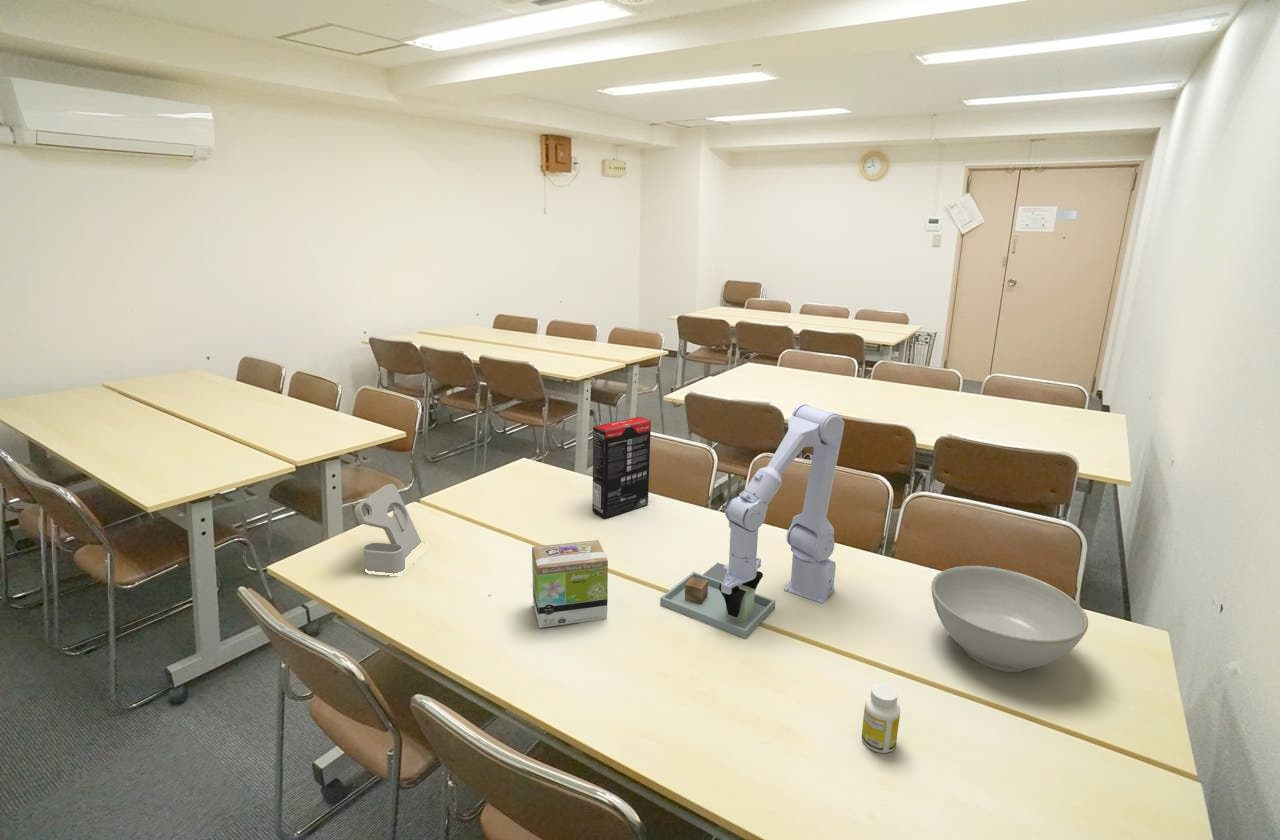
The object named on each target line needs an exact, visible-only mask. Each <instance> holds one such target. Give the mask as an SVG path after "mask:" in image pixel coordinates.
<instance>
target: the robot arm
mask: <svg viewBox="0 0 1280 840" xmlns="http://www.w3.org/2000/svg"><path fill="white" fill-rule="evenodd" d="M787 420H788V421H787V427H788V430H787V432H786V434H785V435H784V437H783V439H782V440H781V442H780V444H779V446H778V447H777V449H776V451H775V452H774V454H773V456H772V457H771V459H770V461H769V462H768V464H767V466H765V467H760V468H758V470H757V471H756V473H754V475H753V476H752V477H751V479H750V481H749V482H748V483H747V485H746V487H745V488H744V490H743V491H742V492H741V494H740V495H739V496H735V497H734V498H732V499H731V500H730V501H729V503H728V504H727V507H726V509H725V510H724V515H725V518H726V519H727V521H728V528H730V534H729V535H730V536H729V552H728V553H729V554H728V563H727V564H724V565H725V566H724V570H725V571H727V573H726V576H725V580H724V581H723V582H722V583H721V584H720V585H719V590H720V592H721V593H722V595H723V597H724V599H725V603H726V607H727V611H728V615H731V616H734V617H737V616H738V615H739V611H740V606H741V602H742V599H743V597H744V595H745V593H746V591H744V590H741V589H739V587H738V585H740V584H742V585H744V586H747V587H750V588H753V589H755V591H756V590H757V587H758V585H759V584H760V581H761V580H762V579H763V577H764V574H763V572H761V571H759V568H761V566H762V559H761V558H759V557H757V556H758V554H757V552H758V540H759V537H758V535H759V528H761V526H762V525H763V524H764V523H765V521H766V517H767V512H768V510H769V504H770V502H771V501H772V500H773V498H774V496H775V495H776V493H777V492H778V490H779V489H780V488H781V486H782V484H783V482H782V480H783V479H782V475H783V474H784V472H786V470H787V469H788V468H789V466H790V465H792V463H793V461H794V460H795V459H796V458H797V457H798V455H799V454H800V453H801V452H802V451H803V449H804V448H811V447H813V451H812V452H813V453H812V458H811V463H810V469H809V473H808V478H807V485H806V490H805V496H804V501H803V507H802V512H801V513H799V514H796V515H794V516H793V517H792V521H791V525H790V526H789V528H788V530H787V531H786V532H787V534H786V542H787V544H788V545H789V546H790V551H791V552H792V561H791V563H792V564H791V574H790V582H788V583H787V584H786V585H785V586H784V587H783V591H784V592H788V593H791V594H793V595H796V596H799V597H802V598H805V599H808V600H810V601H811V600H812V601H813V602H817V603H820V604H823V603H824V602H826V600H827V598H829V596H830V595H831V594H832V593H833V591H834V590H835V576H836V569H837V568H836V567H837V566H836V565H837V564H836V562H835V561H834V560H832V559H830V557H831V556H832V554H834V553H833V552H834V550H835V538H834V536H835V528H834V526H833V525H832V524H831V522H830V521H829V518H827V517H828V511H829V507H830V506H829V505H830V500H831V499H830V498H831V495H832V494H831V493H832V491H833V484H834V480H835V473H836V470H837V469H836V468H837V466H838V465H837V463H838V459H839V453H840V449H841V446H842V445H841V444H842V440H843V439H842V438H843V434H844V429H845V424H846V422H845V421H844V420H843V418H842V417H841V416H840V415H839V414H838V413H835V412H830V411H826V410H824V409H821V408H818V407H817V408H816V407H813V406H810V405H808V404H806V403H803V404H799V405H798V406H796V407H795V408H794V410H793V412H792V414H791V416H790V417H789V418H788V419H787Z"/></svg>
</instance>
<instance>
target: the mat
mask: <svg viewBox="0 0 1280 840" xmlns="http://www.w3.org/2000/svg"><path fill="white" fill-rule="evenodd" d="M725 565H726V564H723V563H719V562H717V563H715V564H714V565H712V566H711V568H709V569H708V570H707V571H705V572H704V573H703V574H702V575H704V576H707V577H710V578H713V579H716V580H718V581H721V582H723V581H724V580H725V576H726V573H727V571H725V570H724V566H725Z"/></svg>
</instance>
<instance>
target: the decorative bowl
mask: <svg viewBox="0 0 1280 840" xmlns="http://www.w3.org/2000/svg"><path fill="white" fill-rule="evenodd" d="M930 588H931V590H930V591H931V596H932V601H933V605H934V608H935V610H936V611H935V612H936V613H937V616H938V618H939V620H940V622H941V624H942V625H943V627H944V628H945V630H946V632H947V633H948V634H949V636H951V638H952V639H953V640H954V641H955V642H956V643H957V644H958V645H959V646H960V647H962V648H963V650H964V652H965V653H966V654H967V655H968V656H969V657H970V658H971V659H973V660H974V661H975V662H976V663H979V664H980V665H983V666H984V667H986V668H990V669H992V670H996V671H1000V672H1005V673H1020V672H1025V671H1027V670H1029V669H1035V668H1040V667H1043V666H1046V665H1049V664H1051V663H1054V662H1056V661H1058V660H1059V659H1061V658H1063V657H1064V656H1066V655H1067V654H1069V652H1071V651H1072V650H1073V649H1074V648H1075V647H1076V646H1077V645H1078V644H1079V642H1080V641H1081V640H1082V639H1083V637H1084V636H1085V634H1086V632H1087V630H1088V628H1089V619H1088V616H1087V613H1086V611H1085V610H1084V609H1083V607H1082V606H1081V605H1080V604H1079V603H1078V602H1077V601H1076V600H1074V599H1073V598H1072V597H1071V596H1070V595H1068V594H1067V593H1065V592H1064V591H1062V590H1061V589H1059V588H1057V587H1056V586H1053V585H1052V584H1050V583H1048V582H1045V581H1043V580H1040V579H1038V578H1036V577H1034V576H1030V575H1027V574H1024V573H1020V572H1018V571H1013V570H1009V569H1004V568H999V567H994V566H987V565H986V566H985V565H963V566H962V565H960V566H954V567H951V568H947V569H944V570H942V571H940V572H939V573H937V574H936V575H935V576H934V577H933V579H932V581H931V587H930Z"/></svg>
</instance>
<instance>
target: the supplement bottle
mask: <svg viewBox="0 0 1280 840" xmlns="http://www.w3.org/2000/svg"><path fill="white" fill-rule="evenodd" d="M864 703H865V704H864V711H863V718H862V719H863V720H862V726H861V727H862V728H861V739H862V742H863V744H864V745H865V746H866V747H867V748H868V749H870V750H871V751H873V752H877V753H880V754H887V753H890V752H892V751H895V749H896V746H897V740H898V732H899V726H900V724H899V723H900V717H901V708H900V706H899V704H898V692H897V690H896V689H895V688H894V687H892V686H890V685H889V684H885V683H876V684H874V685H872V686H871V689H870V695H869V696H868V697H867V698H866V700H865V702H864Z"/></svg>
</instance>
